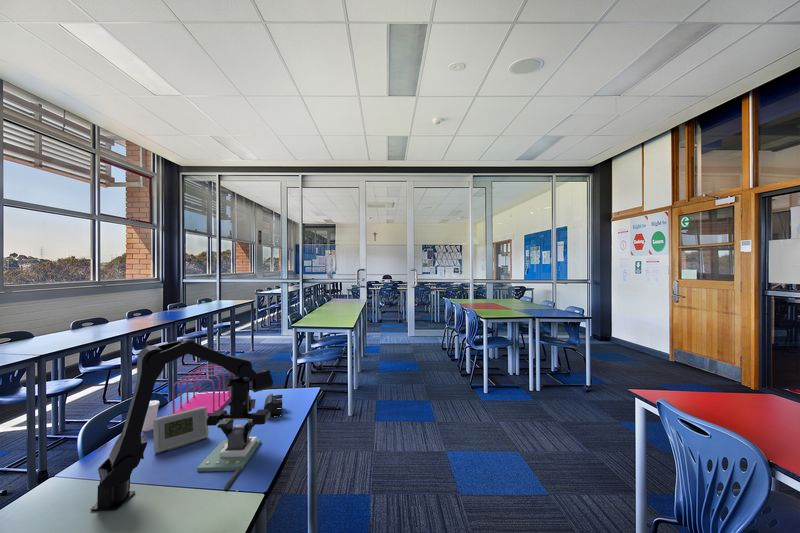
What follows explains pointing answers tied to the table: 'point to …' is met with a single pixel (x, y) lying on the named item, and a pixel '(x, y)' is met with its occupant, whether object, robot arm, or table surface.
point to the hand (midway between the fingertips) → (238, 442)
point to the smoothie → (151, 415)
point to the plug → (237, 438)
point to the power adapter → (274, 405)
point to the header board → (228, 457)
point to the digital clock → (180, 429)
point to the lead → (232, 478)
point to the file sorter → (203, 400)
